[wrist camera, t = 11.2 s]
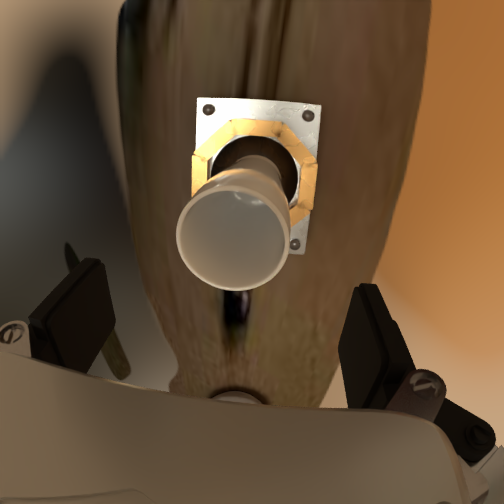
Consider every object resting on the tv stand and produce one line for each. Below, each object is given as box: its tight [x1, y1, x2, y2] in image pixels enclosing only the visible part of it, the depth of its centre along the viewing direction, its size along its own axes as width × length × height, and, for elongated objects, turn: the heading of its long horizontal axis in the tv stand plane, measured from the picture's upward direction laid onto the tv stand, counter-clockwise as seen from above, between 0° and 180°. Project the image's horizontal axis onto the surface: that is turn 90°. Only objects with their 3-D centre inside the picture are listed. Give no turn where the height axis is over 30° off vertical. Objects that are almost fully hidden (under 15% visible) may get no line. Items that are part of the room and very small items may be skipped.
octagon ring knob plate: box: [192, 98, 321, 255], centre depth 33 cm, size 16×12×6 cm
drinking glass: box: [176, 155, 291, 291], centre depth 25 cm, size 7×7×15 cm
